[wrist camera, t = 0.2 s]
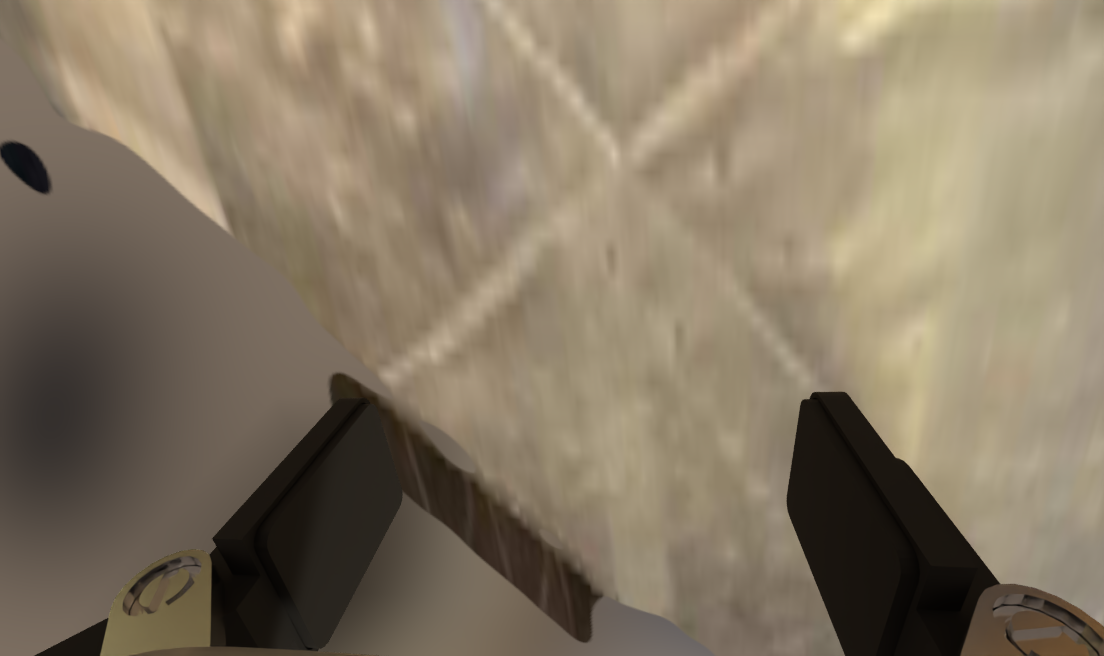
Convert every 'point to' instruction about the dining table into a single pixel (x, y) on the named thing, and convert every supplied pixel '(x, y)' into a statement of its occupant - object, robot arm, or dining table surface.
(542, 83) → the dining table surface
